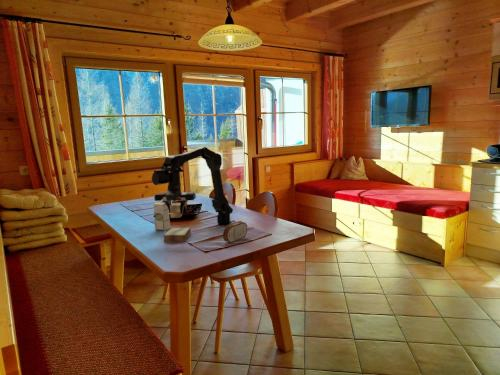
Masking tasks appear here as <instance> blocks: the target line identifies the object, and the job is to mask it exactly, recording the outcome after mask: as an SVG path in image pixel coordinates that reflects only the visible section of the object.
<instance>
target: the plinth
mask: <svg viewBox="0 0 500 375" xmlns="http://www.w3.org/2000/svg"><path fill="white" fill-rule="evenodd" d="M191 233H192V232H191V228H190V227H170V228H169V229H168V231H167V232H166V233H165V234H164V235H163V241H164V242H163V243H185V242H186V241H187V239H188V238H189V237H190V236H191Z"/></svg>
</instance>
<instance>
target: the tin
mask: <svg viewBox="0 0 500 375" xmlns="http://www.w3.org/2000/svg"><path fill="white" fill-rule="evenodd" d="M222 231H223V232H222V238H223V240H224V241H225V242H227V243H231V244H232V243H234V242H237V241H239V240H242V239H244V238H245V237H246V235H247V233H248V224H247V223H246V222H244V221H241V220H238V221H236V222H233V223H232V222H231V223H230V224H229V225H225V227H224V230H222Z"/></svg>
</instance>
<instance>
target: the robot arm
mask: <svg viewBox="0 0 500 375" xmlns="http://www.w3.org/2000/svg"><path fill="white" fill-rule="evenodd" d="M200 157H201V158H202V159H203V160H204V161H205V163H206V166H207V168H208V169H209V171H210V174H211V176H210V177H211V180H212V186H213V192H214V194H213V195H214V198H212V199H211V203H212V204H211V205H212V206H211V207H212V208H213V209H214V211H215V213H217V216H216V222H217V225H218V226H227V225H229V224H232V221H231V214H232V213H233V210H234V208H232V207H231V205H230V204H229V203H230V202H229V200H228V198H227V197H226V195H225V193H224V186H223V180H222V174H221V168H222V164H223V159H222V155H221V154H220V153H216V152H215V151H214V150H211V149H209V148H208V147H207V146H199V147H197V148H194V149H192V150H189V151H185V152H184V153H180V154H172V155H166V157H165V158H164V162H163V163H162V165H161V168H160V169H154V170H153V173H152V175H151V181H152V183H153V185H154V186H159V185H166V184H167V189H166V191H165V192H158V193H156V194H154V197H153V198H154V201H155V202H164V203H165V204H166V205H167V207H168V209H169V212H170V205H171V204H172V201H177V199H181V200H180V201H179V203H181V208H180V212H181V214H182V215H183V211H184V208H185V205H186V203H187V202H188V201H195V199H197V197H196V195H197V194H196V193H195V192H194V191H193V192H191V191H190V192H186V193H185V194H182V186H181V185H182V184H181V173H183V172H184V171H185V170H184V169H183V168H181V167H183V165H185V164H186V163H187V162H189V161H192V160H194V159H196V158H200Z"/></svg>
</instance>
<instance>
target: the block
mask: <svg viewBox="0 0 500 375" xmlns="http://www.w3.org/2000/svg"><path fill="white" fill-rule="evenodd" d="M171 203H172V202H171ZM180 208H181V203H180V202H174V203H172V204H171V205H170V211H169V215H170V219H175V218H177V219H178V218H179V219H180V218H181V217H182V216H183V213H182V214H181V212H180Z"/></svg>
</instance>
